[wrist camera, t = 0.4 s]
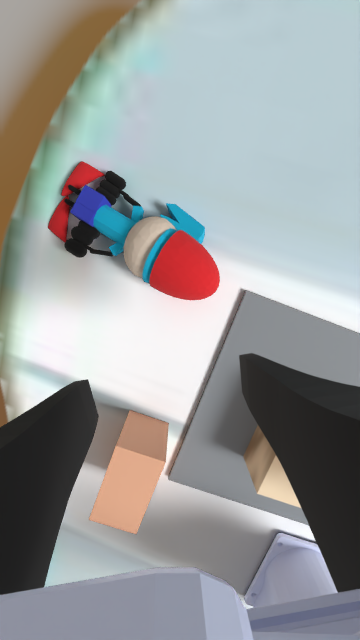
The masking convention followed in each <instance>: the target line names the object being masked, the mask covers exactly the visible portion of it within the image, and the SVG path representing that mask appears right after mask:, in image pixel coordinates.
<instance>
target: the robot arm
mask: <svg viewBox="0 0 360 640" xmlns="http://www.w3.org/2000/svg"><path fill="white" fill-rule="evenodd" d="M239 361H240V373H241V385H242V393H243V396H244V398H245V401H246V403H247V405H248V408H249V410H250V412H251V414H252V415H253V417H254V419H255V421H256V422H257V424H258V426H259V427H260V429H261V431H262V432H263V434H264V436H265V437H266V439H267V441H268V442H269V444H270V446H271V447H272V449H273V451H274V452H275V454H276V456H277V458H278V460H279V461H280V463H281V465H282V467H283V469H284V472H285V474H286V476H287V478H288V480H289V482H290V484H291V486H292V488H293V491H294V493H295V495H296V497H297V499H298V502H299V504H300V506H301V508H302V510H303V513H304V515H305V517H306V519H307V521H308V524H309V526H310V528H311V531H312V533H313V535H314V538H315V540H316V542H317V544H315V543H311V542H308V541H305V540H302V539H299V538H296V537H293V536H290V535H286V534H283V533H278V534H277V535H276V537H275V539H274V541H273V543H272V545H271V547H270V549H269V551H268V553H267V554H266V556H265V558H264V560H263V562H262V564H261V566H260V568H259V570H258V572H257V574H256V576H255V577H254V579H253V581H252V583H251V585H250V587H249V589H248V591H247V593H246V595H245V597H244V598H245V602H246V604H248V605H251V606H253V608H250V609H246V608H245V607H244V605H243V603H242V602H241V600H240V598H239V597H238V595H237V593H236V591H235V590H234V588H233V587H232V586H231V585H230V584H228V583H227V582H226V581H225V580H223V579H220V578H218V577H216V576H214V575H211V574H209V573H207V572H204V571H202V570H200V569H198V568H159V567H157V568H152V569H146V570H140V571H135V572H129V573H123V574H118V575H112V576H106V577H100V578H95V579H89V580H83V581H78V582H72V583H66V584H61V585H55V586H49V587H44V585H45V581H46V577H47V573H48V569H49V565H50V561H51V558H52V554H53V551H54V547H55V543H56V540H57V536H58V532H59V529H60V526H61V522H62V519H63V516H64V513H65V509H66V506H67V503H68V500H69V497H70V494H71V491H72V489H73V486H74V484H75V481H76V479H77V476H78V474H79V471H80V469H81V467H82V464H83V462H84V459H85V457H86V454H87V452H88V449H89V447H90V444H91V442H92V439H93V436H94V433H95V429H96V425H97V421H98V413H97V409H96V406H95V402H94V399H93V395H92V392H91V388H90V385H89V381H88V379H87V380H81V381H75V382H73V383H71V384H69V385H67V386H66V387H64V388H62V389H61V390H59V391H58V392H56V393H54V394H53V395H51V396H50V397H48V398H47V399H45V400H44V401H42V402H41V403H39V404H38V405H36V406H35V407H33V408H31V409H30V410H28V411H27V412H25V413H23V414H22V415H20V416H18V417H17V418H15V419H14V420H12V421H10V422H9V423H7V424H5V425H3V426H2V427H0V640H360V387H358V386H353V385H348V384H343V383H339V382H335V381H331V380H327V379H323V378H319V377H316V376H313V375H309V374H306V373H303V372H300V371H297V370H295V369H292V368H289V367H287V366H284V365H281V364H279V363H277V362H274V361H272V360H269V359H267V358H264V357H262V356H259V355H257V354H254V353H249V354H243V355H239Z"/></svg>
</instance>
